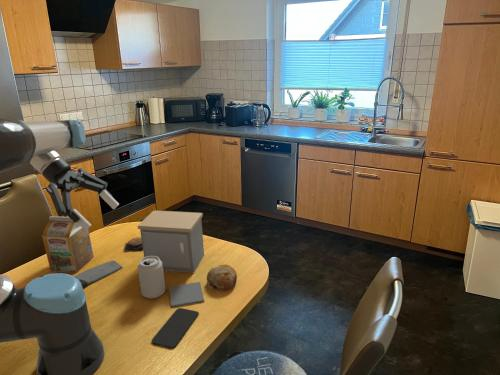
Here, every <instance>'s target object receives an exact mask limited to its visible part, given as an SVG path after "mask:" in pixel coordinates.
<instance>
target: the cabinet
mask: <svg viewBox="0 0 500 375" xmlns="http://www.w3.org/2000/svg"><path fill="white" fill-rule="evenodd" d="M203 214H204V213H203V212H190V211H170V210H168V211H167V210H152V211H151V212H150V213H149V214H148V215H147V216H146V217H145V218H144V219H143V220H142V221H141V222H140V223H139V224H138V225H137V230H139V232H140V238H141V239H142V246H143V250H142V251H143V258H144V257H147V256H157V257H159V259H160V260H161V262H162V266H163V271H166V272H167V271H168V272H169V271H170V272H181V273H193V274H194V273H195V271H196V270H197V268H198V267H199V266H200V263H201V261H202V260H203V258H204V256H205V248H204V236H203V225H202V222H203V221H202V218H203Z"/></svg>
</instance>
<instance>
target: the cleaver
mask: <svg viewBox="0 0 500 375" xmlns="http://www.w3.org/2000/svg"><path fill="white" fill-rule="evenodd" d="M122 269H123V266H122V265H121V264H120V263H118V262H117V261H116V260H110V261H106V262H104V263H102V264H98V265H96V266H94V267H93V266H92V267H91V268H89V269H86V270H84V271H81V272H80V273H79V272H78V274H77V273H76V274H75V275H73V276H74V277H75V278H76V279H78V280H79V281H80V283H81V285H82V288H83V289H84V288H87V287H88V286H89V285H90V284H93V283H96V282H98V281H99V280H102V279H104V278H106V277H109V276H110V275H112V274H114V273H116V272H118V271H119V270H122Z"/></svg>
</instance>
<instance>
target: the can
mask: <svg viewBox="0 0 500 375" xmlns="http://www.w3.org/2000/svg"><path fill="white" fill-rule="evenodd" d="M137 272H138V278H139V279H138V280H139V285H140V291H141V296H143V297H144V298H146V299H150V300H151V299H152V300H153V299H157V298H160V297H161V296H162V295H163V294H165V292H166V283H165V275H164V270H163V266H162V262H161V260H160V259H159V257H157V256H147V257H144V256H143V258H141V259H139V261H138V264H137Z"/></svg>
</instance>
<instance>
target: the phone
mask: <svg viewBox="0 0 500 375" xmlns="http://www.w3.org/2000/svg"><path fill="white" fill-rule="evenodd" d="M199 315H200V312H198V310H197V311H196V310H193V309H187V308H183V307H179V308H176V309H175V311H174V312H173V313H172V315H171V316H170V317H169V318H168V319H167V320H166V322H165V323H164V324H163V325H162V327H160V329H159V330H158V331H157V333H156V334H154V336H153V337H152V339H151V344H153V345H155V346H160V347H163V348H165V349H166V348H167V349H175V348H176V347H177V346H178V345H179V344H180V342H181V341H182V340H183V339H184V338H185V335H186V334H187V332H189V329H190V328H191V326H192V325H194V323H195V321H196V320H197V319H198V318H199Z"/></svg>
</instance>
